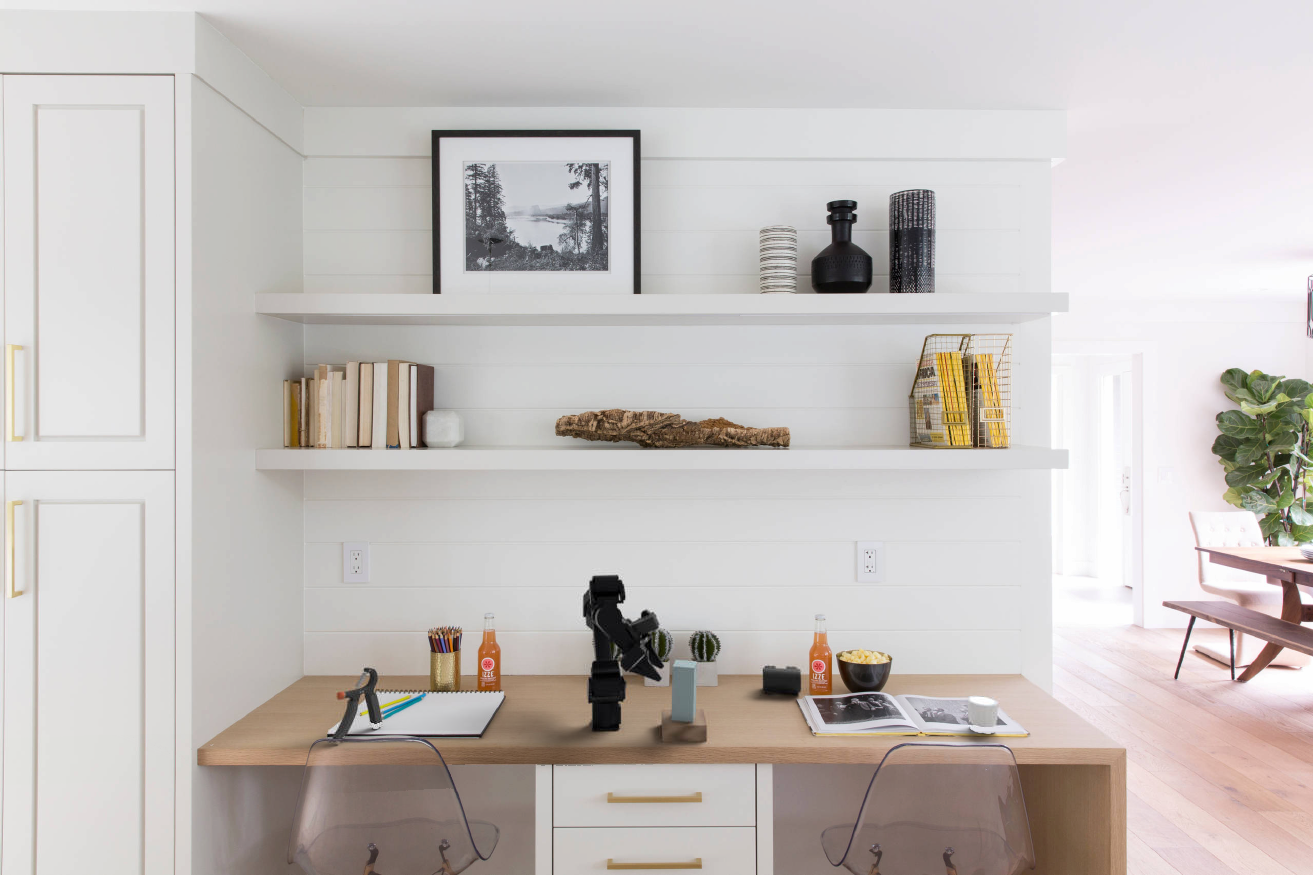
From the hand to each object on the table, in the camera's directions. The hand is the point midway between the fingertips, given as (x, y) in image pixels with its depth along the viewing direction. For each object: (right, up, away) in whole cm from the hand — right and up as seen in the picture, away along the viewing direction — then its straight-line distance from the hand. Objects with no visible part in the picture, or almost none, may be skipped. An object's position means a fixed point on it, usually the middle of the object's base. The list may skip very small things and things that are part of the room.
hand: (661, 673), depth 176 cm
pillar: (+5, -10, 0) cm, 11 cm away
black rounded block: (+32, -14, +27) cm, 44 cm away
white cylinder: (+75, -14, +1) cm, 77 cm away
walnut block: (+5, -14, 0) cm, 15 cm away
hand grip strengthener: (-70, -14, -2) cm, 72 cm away
